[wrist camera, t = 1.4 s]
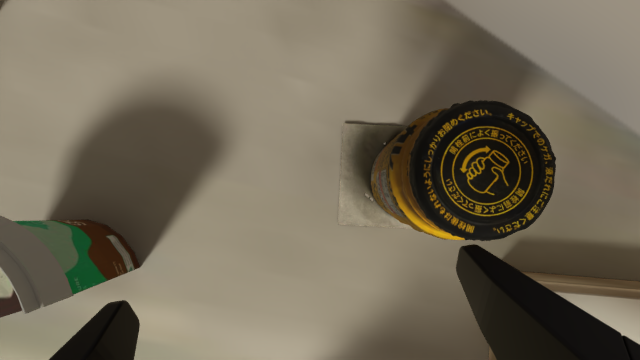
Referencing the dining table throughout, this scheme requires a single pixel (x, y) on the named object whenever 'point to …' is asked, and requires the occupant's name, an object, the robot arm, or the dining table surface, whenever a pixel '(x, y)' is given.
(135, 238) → the dining table surface
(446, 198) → the condiment
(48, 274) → the food container
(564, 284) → the picture frame
